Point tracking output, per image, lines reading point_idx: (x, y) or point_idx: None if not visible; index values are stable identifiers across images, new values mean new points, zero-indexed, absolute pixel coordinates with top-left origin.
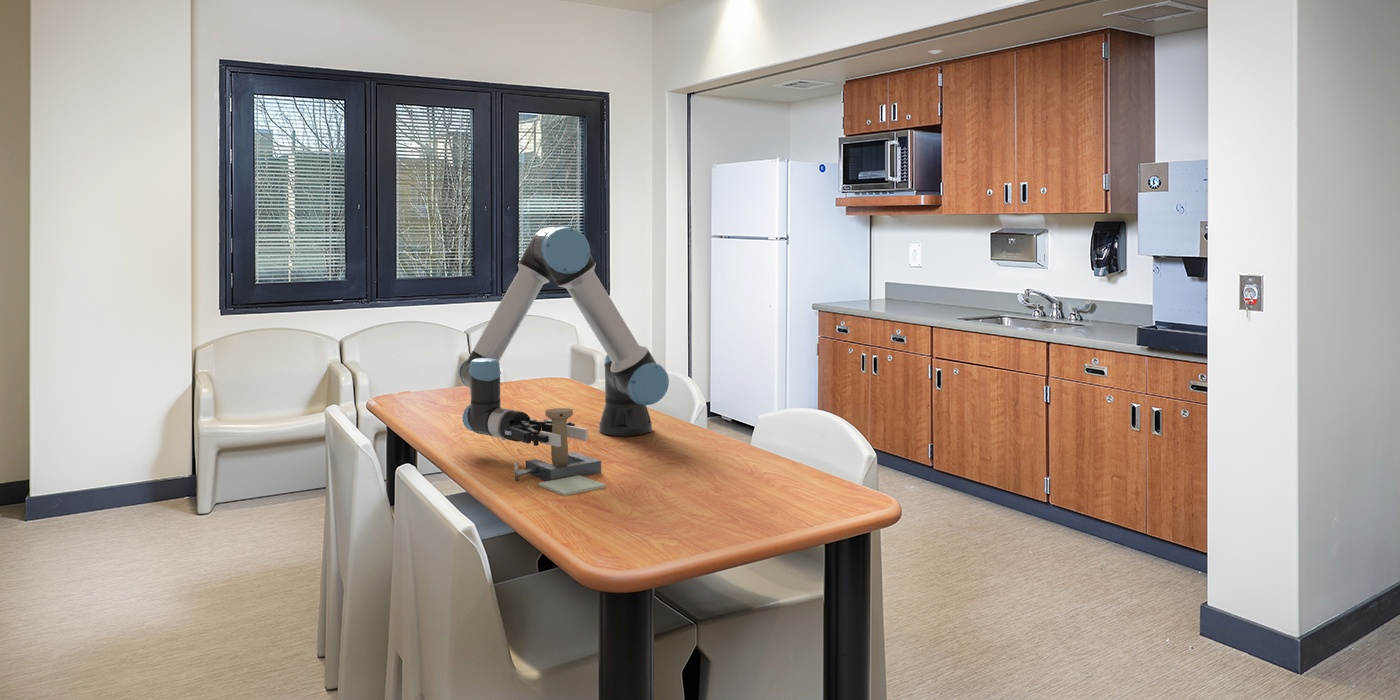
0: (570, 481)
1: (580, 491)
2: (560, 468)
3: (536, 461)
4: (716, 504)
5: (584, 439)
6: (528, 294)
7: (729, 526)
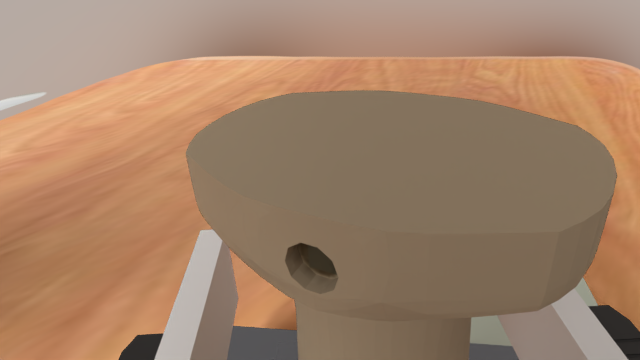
0: (471, 319)
1: None
2: (495, 345)
3: None
4: None
5: (235, 300)
6: None
7: (374, 76)
